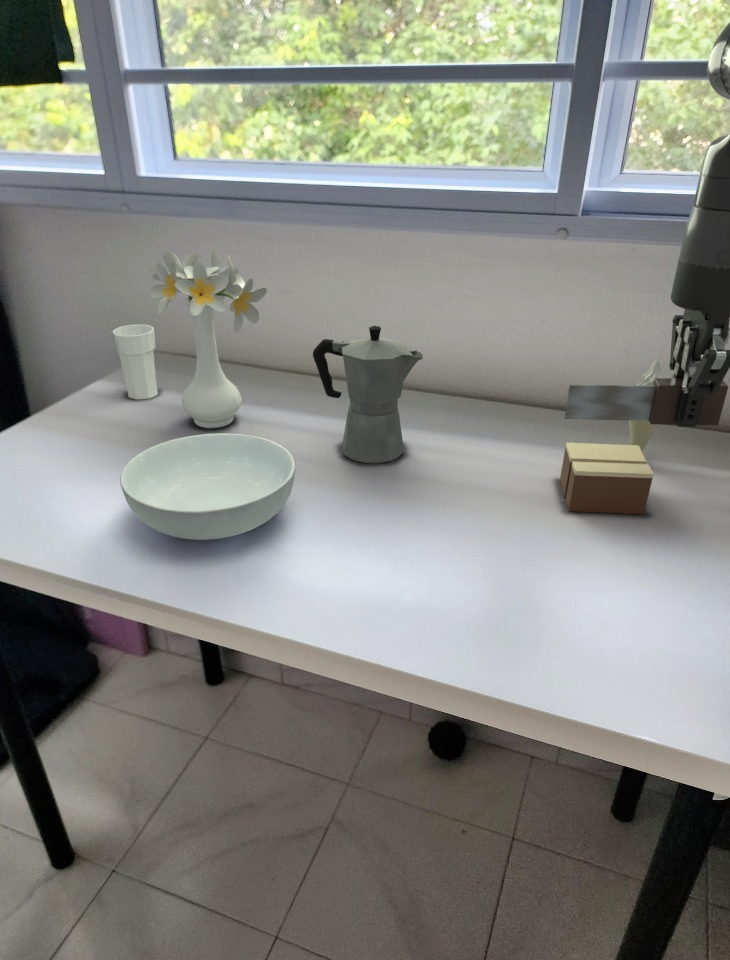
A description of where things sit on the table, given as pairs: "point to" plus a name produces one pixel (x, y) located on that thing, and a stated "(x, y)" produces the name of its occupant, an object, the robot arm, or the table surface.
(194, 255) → the flower vase
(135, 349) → the cup
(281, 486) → the serving bowl
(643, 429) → the ice cream cone
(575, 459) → the cake
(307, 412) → the table surface
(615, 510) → the cake slice
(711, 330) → the robot arm
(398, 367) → the coffeepot
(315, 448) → the table surface
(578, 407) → the knife
